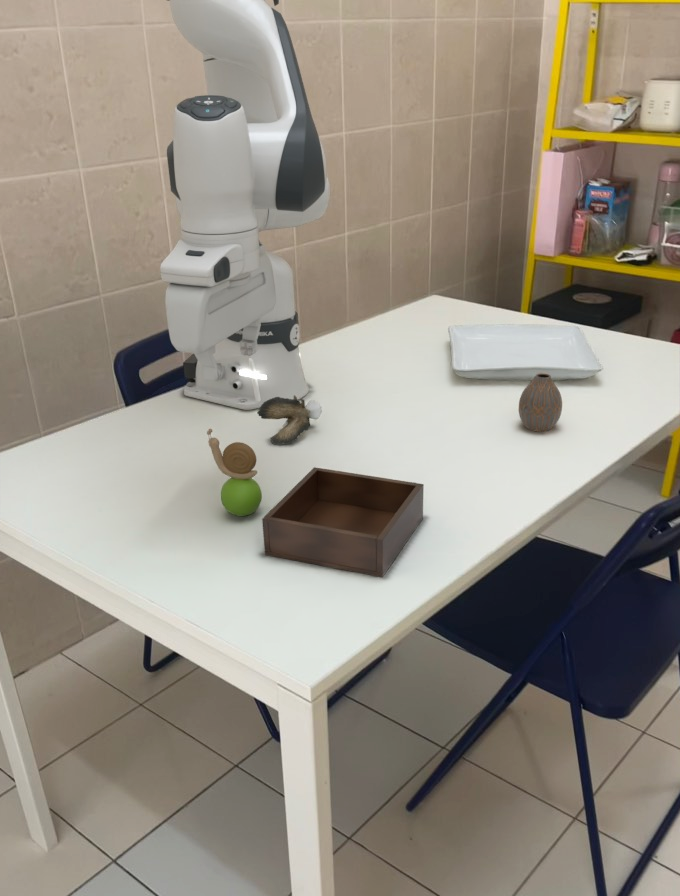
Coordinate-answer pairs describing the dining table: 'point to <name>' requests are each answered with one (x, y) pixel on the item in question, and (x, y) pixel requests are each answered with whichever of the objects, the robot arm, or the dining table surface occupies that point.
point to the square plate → (521, 352)
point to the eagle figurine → (290, 417)
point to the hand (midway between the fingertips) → (231, 365)
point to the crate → (344, 521)
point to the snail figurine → (237, 477)
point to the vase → (540, 404)
